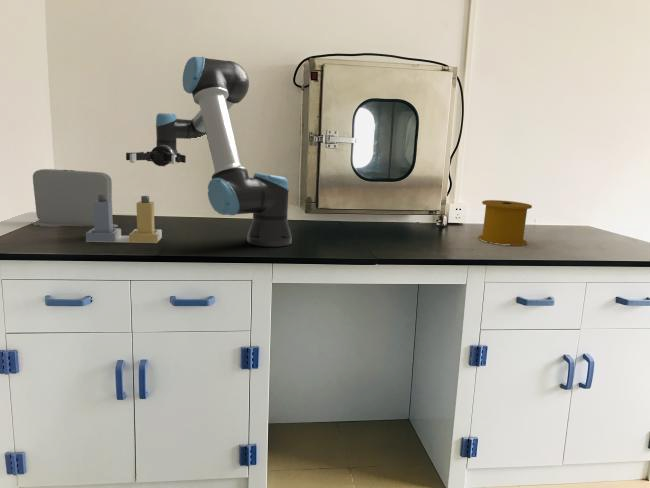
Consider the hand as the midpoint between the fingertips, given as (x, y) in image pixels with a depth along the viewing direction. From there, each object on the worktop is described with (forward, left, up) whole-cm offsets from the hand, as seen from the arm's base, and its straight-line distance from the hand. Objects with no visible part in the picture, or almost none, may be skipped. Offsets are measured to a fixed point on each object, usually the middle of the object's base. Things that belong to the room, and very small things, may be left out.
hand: (151, 159), depth 177 cm
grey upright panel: (+30, -13, -26) cm, 42 cm away
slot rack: (+6, +13, -26) cm, 30 cm away
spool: (-130, -2, -26) cm, 133 cm away
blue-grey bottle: (+13, +13, -25) cm, 31 cm away
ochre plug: (0, +13, -25) cm, 28 cm away
